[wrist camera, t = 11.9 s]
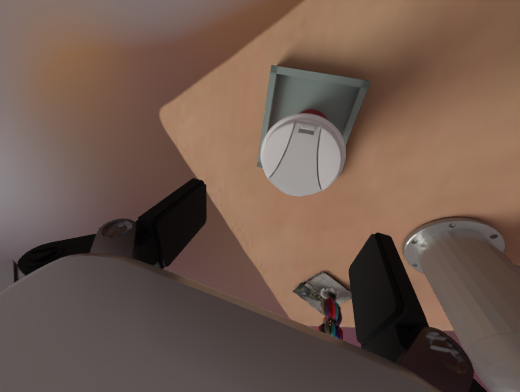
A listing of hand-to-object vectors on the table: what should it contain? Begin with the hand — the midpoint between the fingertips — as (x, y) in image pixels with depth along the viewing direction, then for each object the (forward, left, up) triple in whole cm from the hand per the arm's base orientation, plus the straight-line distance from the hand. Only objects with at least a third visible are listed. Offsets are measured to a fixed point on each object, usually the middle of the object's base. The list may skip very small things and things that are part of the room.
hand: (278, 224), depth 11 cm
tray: (+1, -1, -22) cm, 22 cm away
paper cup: (0, -1, -22) cm, 22 cm away
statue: (-13, +35, -23) cm, 44 cm away
